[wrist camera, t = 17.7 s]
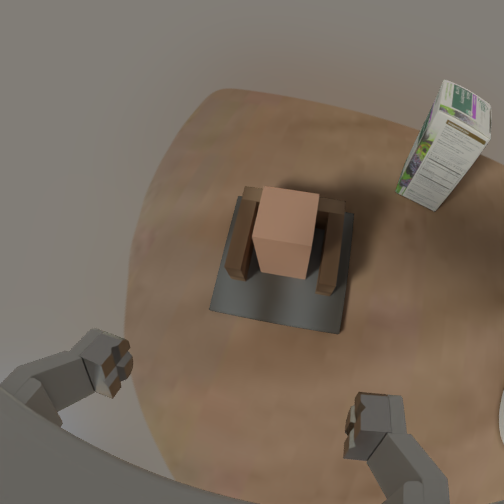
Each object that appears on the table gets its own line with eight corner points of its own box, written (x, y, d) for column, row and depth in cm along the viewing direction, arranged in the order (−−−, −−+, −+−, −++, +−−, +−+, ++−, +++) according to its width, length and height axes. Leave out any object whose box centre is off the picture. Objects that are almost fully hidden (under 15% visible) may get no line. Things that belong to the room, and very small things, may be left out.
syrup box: (405, 160, 36) (441, 75, 23) (444, 179, 35) (492, 102, 21) (394, 193, 35) (435, 107, 21) (436, 214, 33) (493, 138, 20)
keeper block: (311, 238, 33) (319, 194, 25) (305, 279, 32) (311, 246, 23) (269, 231, 34) (263, 185, 26) (260, 271, 32) (251, 236, 24)
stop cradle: (353, 216, 34) (361, 195, 30) (338, 334, 30) (346, 328, 26) (238, 198, 36) (232, 176, 32) (210, 310, 32) (198, 300, 28)
